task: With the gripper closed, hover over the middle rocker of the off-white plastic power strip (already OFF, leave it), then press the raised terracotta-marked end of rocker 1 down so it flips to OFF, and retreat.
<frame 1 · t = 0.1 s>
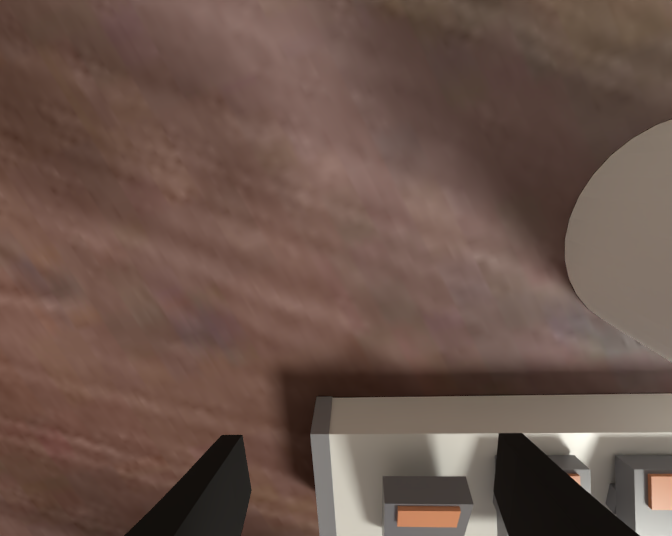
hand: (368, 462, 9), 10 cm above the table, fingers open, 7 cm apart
rocker 3: (670, 523, 16), point 5 cm above the table, hinge at 15.0°
rocker 2: (543, 522, 17), point 5 cm above the table, hinge at 15.0°
rocker 1: (422, 521, 17), point 5 cm above the table, hinge at -15.0°
power strip: (503, 449, 21), on the table
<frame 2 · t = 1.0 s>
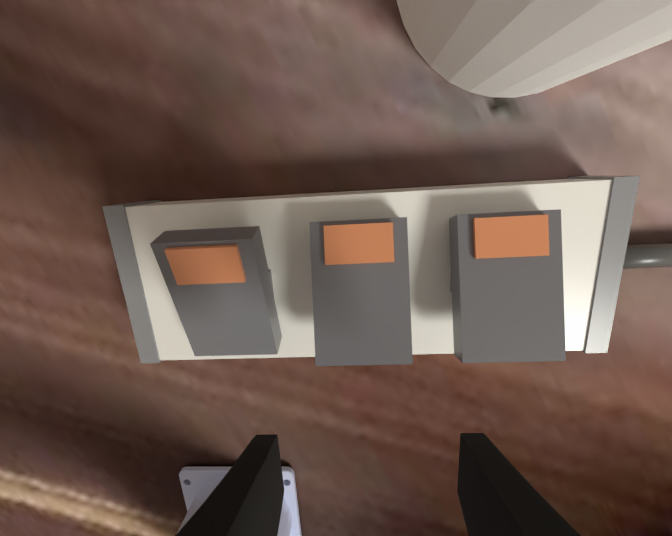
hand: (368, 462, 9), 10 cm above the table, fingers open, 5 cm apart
rocker 3: (505, 286, 14), point 5 cm above the table, hinge at 15.0°
rocker 2: (360, 291, 14), point 5 cm above the table, hinge at 15.0°
rocker 1: (223, 297, 14), point 5 cm above the table, hinge at -15.0°
power strip: (359, 263, 18), on the table
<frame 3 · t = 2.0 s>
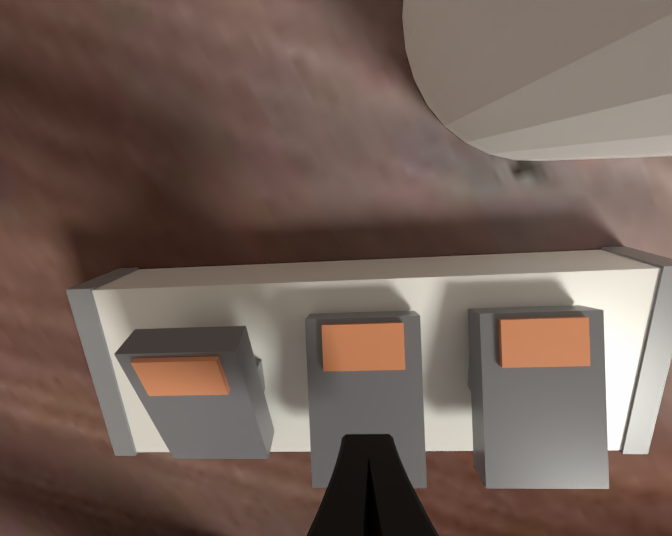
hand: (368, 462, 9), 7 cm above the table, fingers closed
rocker 3: (535, 394, 12), point 5 cm above the table, hinge at 15.0°
rocker 2: (365, 397, 12), point 5 cm above the table, hinge at 15.0°
bottle: (552, 3, 12), on the table
rocker 1: (205, 400, 12), point 5 cm above the table, hinge at -15.0°
power strip: (362, 337, 16), on the table
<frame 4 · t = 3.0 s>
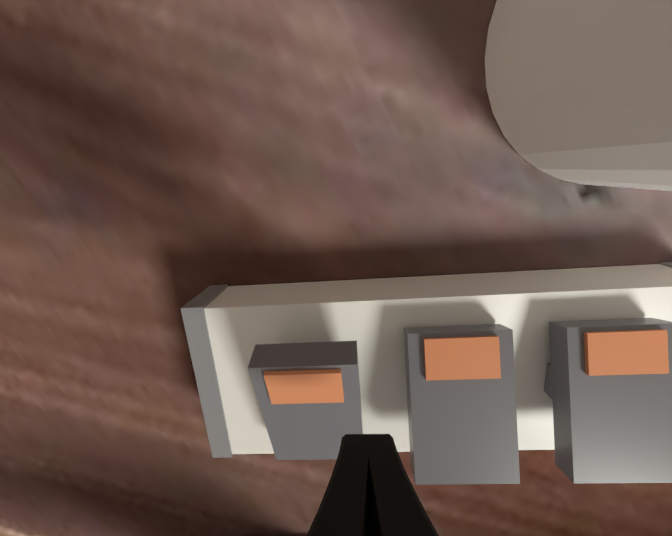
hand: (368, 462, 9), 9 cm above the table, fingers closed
rocker 3: (615, 398, 13), point 5 cm above the table, hinge at 15.0°
rocker 2: (459, 402, 13), point 5 cm above the table, hinge at 15.0°
bottle: (622, 45, 14), on the table
rocker 1: (312, 407, 14), point 5 cm above the table, hinge at -15.0°
power strip: (433, 346, 18), on the table
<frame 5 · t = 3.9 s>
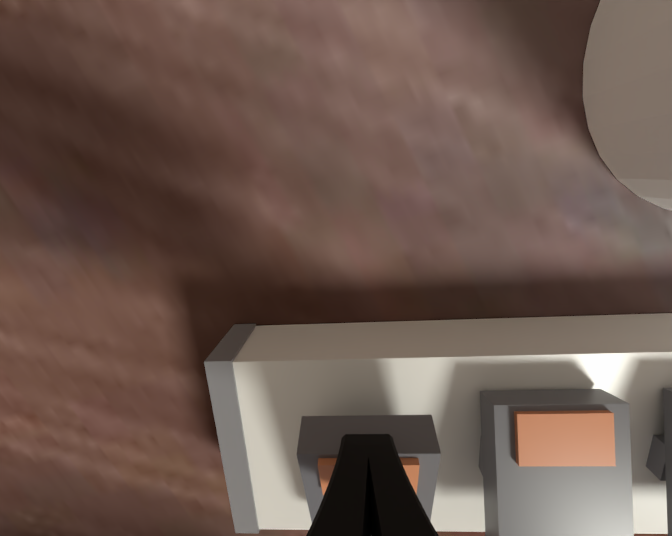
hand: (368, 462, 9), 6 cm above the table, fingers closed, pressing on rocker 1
rocker 2: (554, 490, 11), point 5 cm above the table, hinge at 15.0°
rocker 1: (368, 490, 11), point 5 cm above the table, hinge at -14.9°, touching gripper
power strip: (495, 398, 15), on the table
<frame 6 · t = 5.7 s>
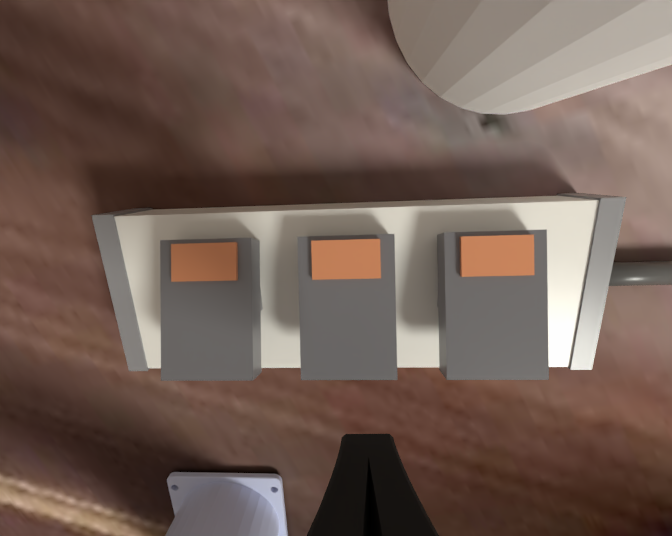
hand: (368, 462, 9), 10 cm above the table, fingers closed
rocker 3: (491, 304, 14), point 5 cm above the table, hinge at 15.0°
rocker 2: (347, 306, 14), point 5 cm above the table, hinge at 15.0°
rocker 1: (211, 308, 15), point 5 cm above the table, hinge at 17.6°
power strip: (349, 274, 19), on the table
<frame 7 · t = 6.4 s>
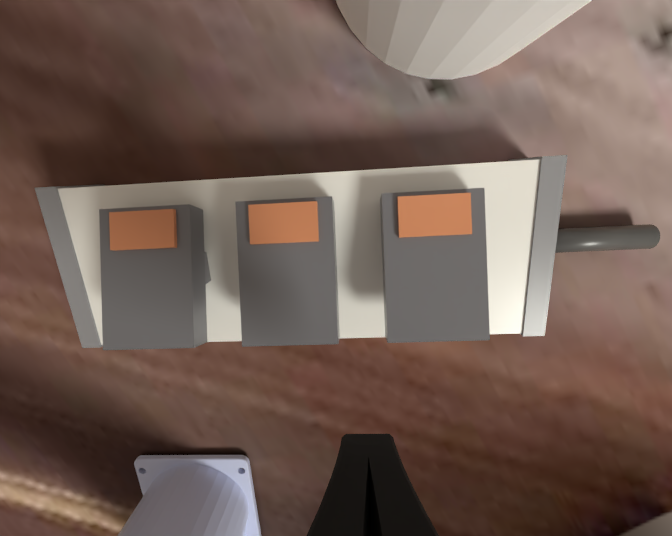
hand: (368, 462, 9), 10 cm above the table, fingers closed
rocker 3: (432, 266, 14), point 5 cm above the table, hinge at 15.0°
rocker 2: (288, 271, 14), point 5 cm above the table, hinge at 15.0°
rocker 1: (153, 277, 14), point 5 cm above the table, hinge at 16.9°
power strip: (304, 248, 18), on the table
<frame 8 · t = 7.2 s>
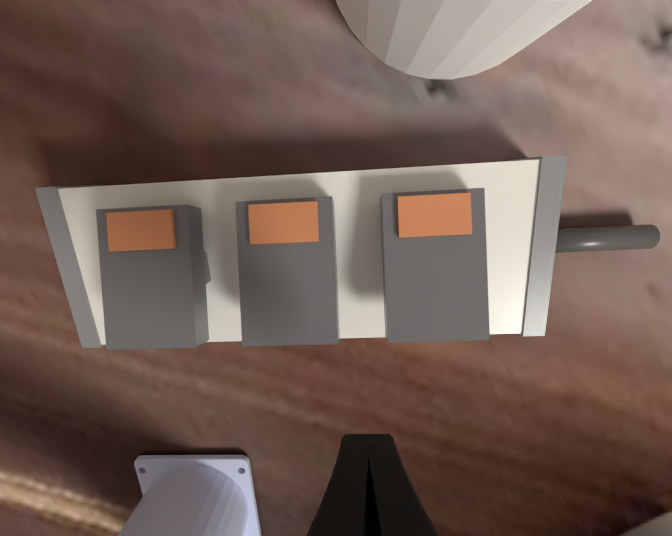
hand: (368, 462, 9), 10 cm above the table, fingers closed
rocker 3: (432, 266, 14), point 5 cm above the table, hinge at 15.0°
rocker 2: (288, 271, 14), point 5 cm above the table, hinge at 15.0°
rocker 1: (153, 277, 14), point 5 cm above the table, hinge at 13.4°
power strip: (304, 248, 18), on the table
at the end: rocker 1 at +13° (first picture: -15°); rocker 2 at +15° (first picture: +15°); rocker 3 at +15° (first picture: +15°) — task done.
